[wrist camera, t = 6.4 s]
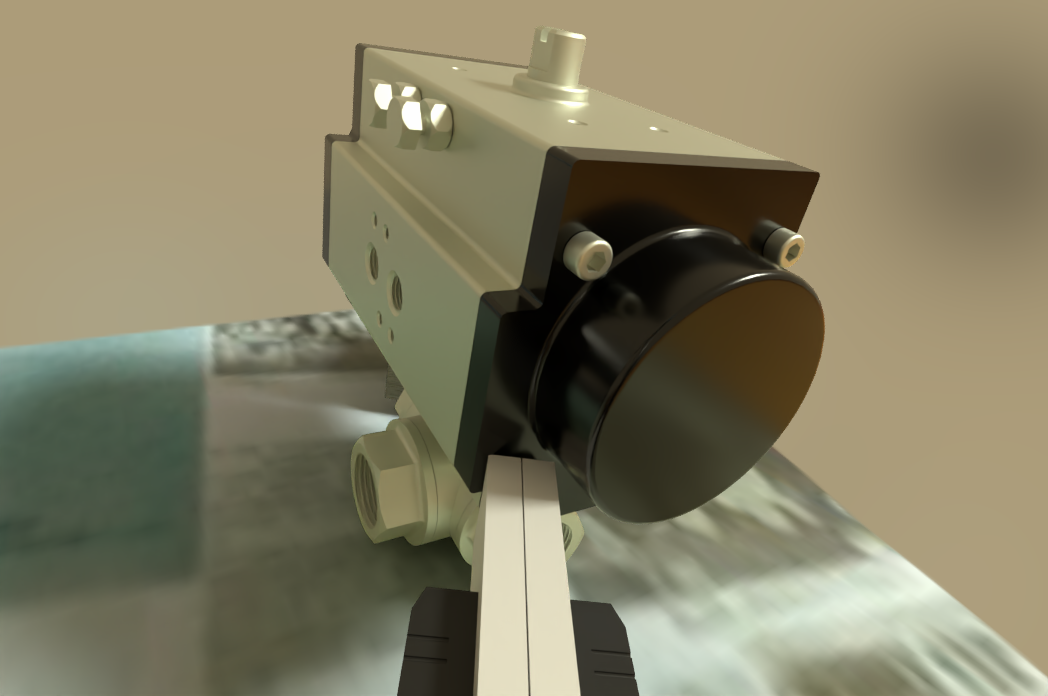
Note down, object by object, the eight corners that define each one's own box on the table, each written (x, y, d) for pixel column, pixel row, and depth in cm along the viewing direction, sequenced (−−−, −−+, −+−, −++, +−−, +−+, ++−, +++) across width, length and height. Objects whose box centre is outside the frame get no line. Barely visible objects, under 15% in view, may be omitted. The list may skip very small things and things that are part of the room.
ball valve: (299, 401, 30) (300, -29, 21) (462, 378, 34) (518, 12, 25) (450, 781, 17) (611, 72, 8) (682, 666, 21) (948, 120, 12)
